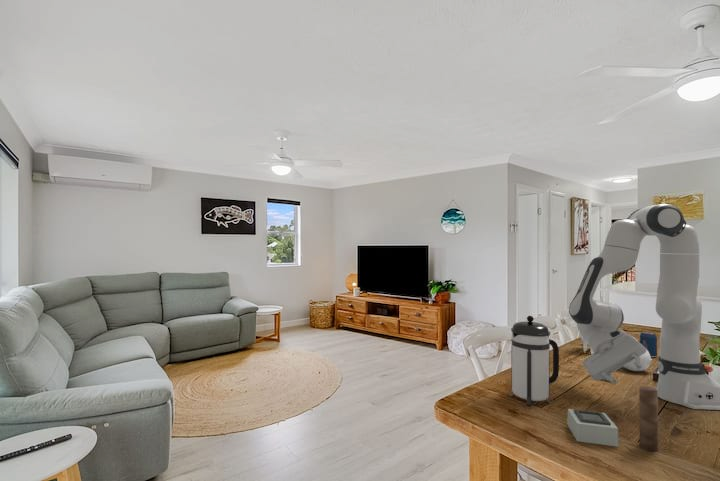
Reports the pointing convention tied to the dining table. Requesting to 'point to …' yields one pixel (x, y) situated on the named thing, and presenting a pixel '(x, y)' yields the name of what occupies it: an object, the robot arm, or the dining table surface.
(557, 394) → the dining table surface
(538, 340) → the coffee press
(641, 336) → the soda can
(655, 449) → the dowel
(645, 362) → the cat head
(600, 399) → the dining table surface
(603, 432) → the collar block
